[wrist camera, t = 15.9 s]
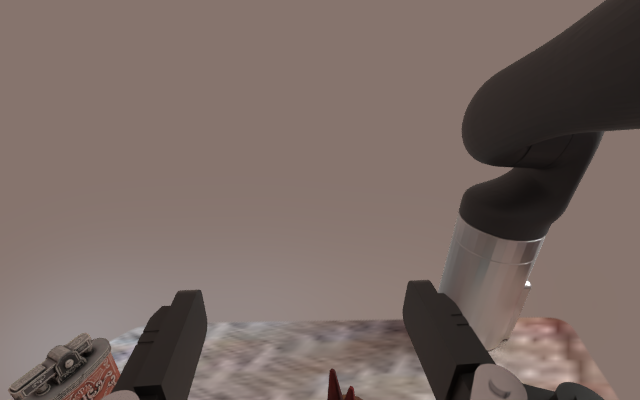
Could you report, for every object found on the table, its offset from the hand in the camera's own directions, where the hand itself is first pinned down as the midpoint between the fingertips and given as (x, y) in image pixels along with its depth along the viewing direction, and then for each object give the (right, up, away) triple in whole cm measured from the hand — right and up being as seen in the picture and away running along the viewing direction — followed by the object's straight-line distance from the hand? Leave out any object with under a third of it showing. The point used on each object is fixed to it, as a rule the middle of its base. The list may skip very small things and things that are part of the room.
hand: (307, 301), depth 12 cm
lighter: (-23, -19, +20) cm, 36 cm away
